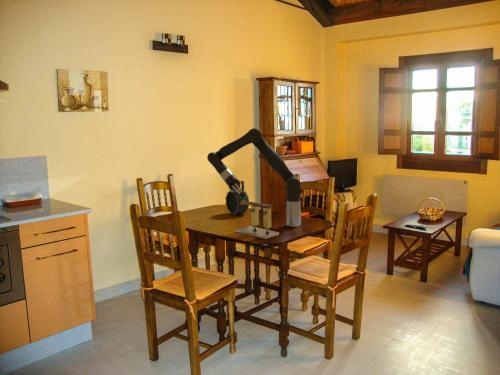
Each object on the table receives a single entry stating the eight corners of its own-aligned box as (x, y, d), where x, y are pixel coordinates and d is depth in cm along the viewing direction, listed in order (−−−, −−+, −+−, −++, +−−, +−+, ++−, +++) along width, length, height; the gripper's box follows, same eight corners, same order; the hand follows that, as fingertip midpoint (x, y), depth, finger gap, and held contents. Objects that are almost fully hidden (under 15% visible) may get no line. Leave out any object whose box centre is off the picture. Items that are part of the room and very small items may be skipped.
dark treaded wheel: (236, 211, 368) (235, 186, 365) (250, 215, 352) (250, 189, 349) (224, 213, 362) (223, 187, 359) (238, 217, 346) (238, 191, 343)
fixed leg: (267, 232, 295) (267, 207, 293) (271, 233, 293) (271, 207, 290) (262, 233, 292) (261, 208, 289) (266, 234, 289) (266, 209, 287)
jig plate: (249, 228, 313) (249, 226, 312) (279, 234, 295) (279, 232, 294) (235, 231, 304) (235, 229, 303) (265, 238, 286) (265, 236, 285)
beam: (244, 203, 306) (244, 200, 306) (271, 208, 290) (271, 204, 289) (240, 204, 304) (240, 200, 304) (268, 209, 287) (268, 205, 287)
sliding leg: (255, 229, 303) (254, 205, 300) (258, 230, 300) (258, 206, 298) (249, 230, 299) (249, 206, 297) (253, 231, 297) (253, 207, 294)
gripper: (219, 183, 306) (235, 204, 304) (234, 170, 304) (251, 191, 302) (222, 183, 314) (238, 203, 312) (237, 170, 312) (253, 190, 309)
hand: (244, 197), depth 307 cm, fingers closed
